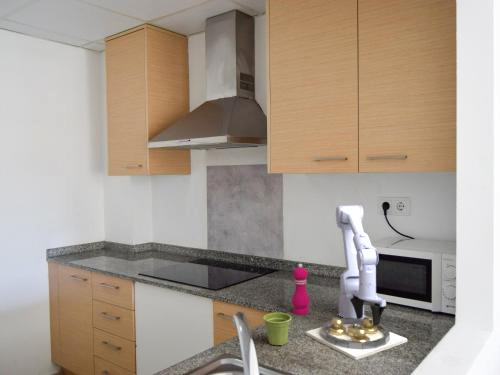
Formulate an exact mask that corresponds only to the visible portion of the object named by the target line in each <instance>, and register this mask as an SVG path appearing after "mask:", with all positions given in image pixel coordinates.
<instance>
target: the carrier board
mask: <svg viewBox="0 0 500 375" xmlns="http://www.w3.org/2000/svg"><path fill="white" fill-rule="evenodd" d="M351 325H353V324H345V325H342V326H344V327H346V334H344V335H339V336H338V335H332V334H330V333H329V329H328V330H326V331H327V332H328V333H329V334H330V335H332V336H334V337H336V338H340V339H344V340H348V341H351V337H349V336H348V326H351ZM357 326H360V325H357ZM389 333H390V341H389V342H388V343H387V344H386V345H384V346H381V347H378V348H373V349H350V348H345V347H341V346H337V345H334V344H332V343H330V342H328V341H326V340H325V339H324V337H323V336H322V326H321V327H317V328H315V329H310V330H307V331H305V335H306V336H308V337H310V338H312V339H314V340H316V341H318V342H319V343H321V344H323V345H325V346H327V347H329V348H331V349H332V350H336V352H337V351H338V352H339V353H341V354H343V355H345V356H347V357H349V358H351V359H353V360H355V361H357V360H360V359H364V358H366V357H368V356H369V357H370V356H372V355H375V354H377V353H380V352H382V351H385V350H388V349H391V348H394V347H396V346H399V345H402V344H405V343H408V338H406V337H404V336H401V335H399V334H396V333H394V332H392V331H389ZM366 336H368V337H369V338H370V341H374V340H377V339H380V338H382V337H383V336H384V334H383V333H382V332H381V331H379V330H378V332H377V333H376V334H366Z"/></svg>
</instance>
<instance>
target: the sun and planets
mask: <svg viewBox="0 0 500 375" xmlns="http://www.w3.org/2000/svg"><path fill="white" fill-rule="evenodd" d="M341 318H342V317H333V318H331V320H332V325H331V326H329V333H330V334H332V335H338V336H339V335H344V334H346V327H344V326H342V319H341ZM348 336H349V337H351V341H359V342H364V341H370V338H369V337H368V336H366V329H365V328H362V327H360V326H357V323H353V325H351V326H348Z"/></svg>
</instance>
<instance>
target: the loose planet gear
mask: <svg viewBox="0 0 500 375" xmlns="http://www.w3.org/2000/svg"><path fill="white" fill-rule="evenodd" d="M366 316H367V317H364V318H363V324H361V325H360V327H362V328H365V329H366V334H376V333H377V332H378V327H377V326H376V325H373V316H370V315H369V316H368V315H366Z"/></svg>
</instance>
